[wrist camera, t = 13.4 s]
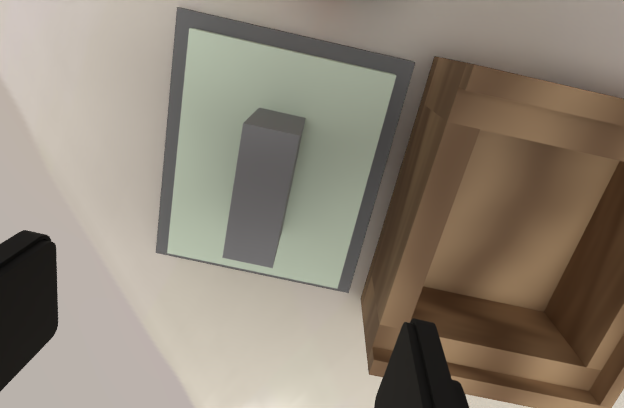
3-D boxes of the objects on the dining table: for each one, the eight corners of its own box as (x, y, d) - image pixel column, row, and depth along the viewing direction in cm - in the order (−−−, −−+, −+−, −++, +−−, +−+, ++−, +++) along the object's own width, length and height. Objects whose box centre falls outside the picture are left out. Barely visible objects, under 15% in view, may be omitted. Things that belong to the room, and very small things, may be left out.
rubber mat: (179, 7, 23) (177, 7, 23) (413, 61, 23) (415, 62, 23) (158, 249, 28) (155, 252, 28) (348, 289, 29) (348, 292, 29)
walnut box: (360, 298, 29) (369, 374, 23) (434, 56, 23) (474, 64, 17) (543, 336, 30) (602, 421, 23) (660, 108, 24) (785, 136, 17)
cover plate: (172, 245, 28) (136, 293, 23) (195, 28, 23) (155, 26, 18) (337, 280, 28) (338, 334, 23) (394, 74, 23) (411, 84, 18)
